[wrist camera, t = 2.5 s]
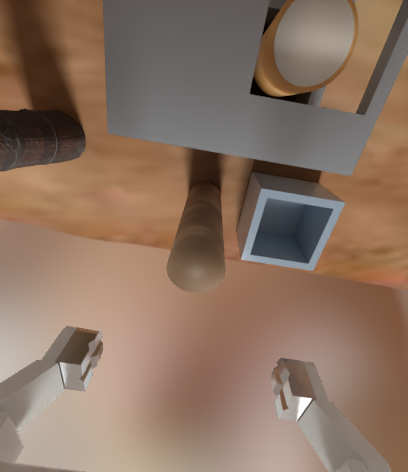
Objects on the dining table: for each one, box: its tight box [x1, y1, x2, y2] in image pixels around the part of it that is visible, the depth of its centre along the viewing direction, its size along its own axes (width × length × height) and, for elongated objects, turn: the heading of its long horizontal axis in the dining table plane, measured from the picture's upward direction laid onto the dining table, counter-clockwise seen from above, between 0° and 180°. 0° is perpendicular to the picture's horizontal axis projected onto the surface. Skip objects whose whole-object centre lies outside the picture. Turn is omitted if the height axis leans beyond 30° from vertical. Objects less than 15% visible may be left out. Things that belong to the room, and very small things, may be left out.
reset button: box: [253, 0, 358, 97], centre depth 16 cm, size 5×5×7 cm
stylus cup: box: [236, 172, 345, 271], centre depth 27 cm, size 8×8×6 cm
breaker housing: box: [103, 0, 408, 176], centre depth 17 cm, size 15×13×13 cm
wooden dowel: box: [167, 181, 225, 293], centre depth 23 cm, size 4×4×15 cm
